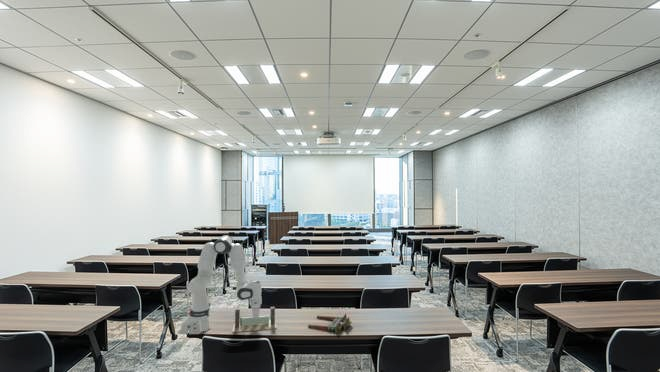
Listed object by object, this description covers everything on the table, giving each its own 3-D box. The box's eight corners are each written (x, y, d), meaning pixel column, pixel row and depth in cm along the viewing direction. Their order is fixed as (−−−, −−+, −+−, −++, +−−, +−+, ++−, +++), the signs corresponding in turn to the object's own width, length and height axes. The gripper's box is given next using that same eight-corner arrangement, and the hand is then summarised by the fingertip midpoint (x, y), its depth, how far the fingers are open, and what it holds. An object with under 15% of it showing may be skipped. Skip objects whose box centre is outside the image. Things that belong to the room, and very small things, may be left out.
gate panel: (240, 326, 231) (240, 318, 231) (240, 325, 232) (240, 317, 233) (269, 323, 235) (269, 316, 235) (269, 322, 237) (269, 315, 237)
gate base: (232, 332, 224) (232, 314, 224) (234, 324, 237) (234, 307, 237) (276, 328, 231) (276, 310, 231) (275, 320, 244) (275, 304, 244)
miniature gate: (318, 311, 254) (354, 313, 245) (319, 318, 254) (355, 321, 244) (305, 325, 229) (345, 328, 219) (306, 332, 229) (345, 336, 219)
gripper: (251, 297, 246) (251, 315, 246) (251, 307, 226) (251, 326, 226) (259, 296, 248) (259, 314, 247) (260, 306, 228) (260, 325, 228)
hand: (255, 320), depth 237 cm, fingers closed
